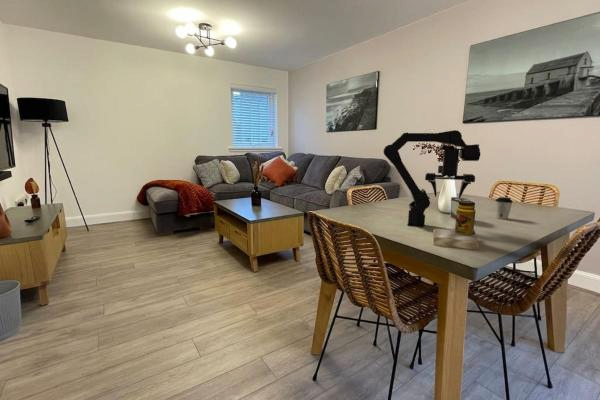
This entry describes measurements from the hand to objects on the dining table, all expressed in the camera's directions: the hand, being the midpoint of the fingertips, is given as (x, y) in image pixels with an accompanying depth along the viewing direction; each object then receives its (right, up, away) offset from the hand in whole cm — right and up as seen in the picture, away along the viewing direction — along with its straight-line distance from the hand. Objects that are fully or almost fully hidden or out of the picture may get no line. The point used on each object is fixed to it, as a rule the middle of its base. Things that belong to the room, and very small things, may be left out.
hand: (447, 197), depth 127 cm
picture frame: (-7, -17, -18) cm, 26 cm away
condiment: (-2, -14, -17) cm, 22 cm away
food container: (+13, -11, +13) cm, 22 cm away
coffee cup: (+34, -10, +15) cm, 38 cm away
